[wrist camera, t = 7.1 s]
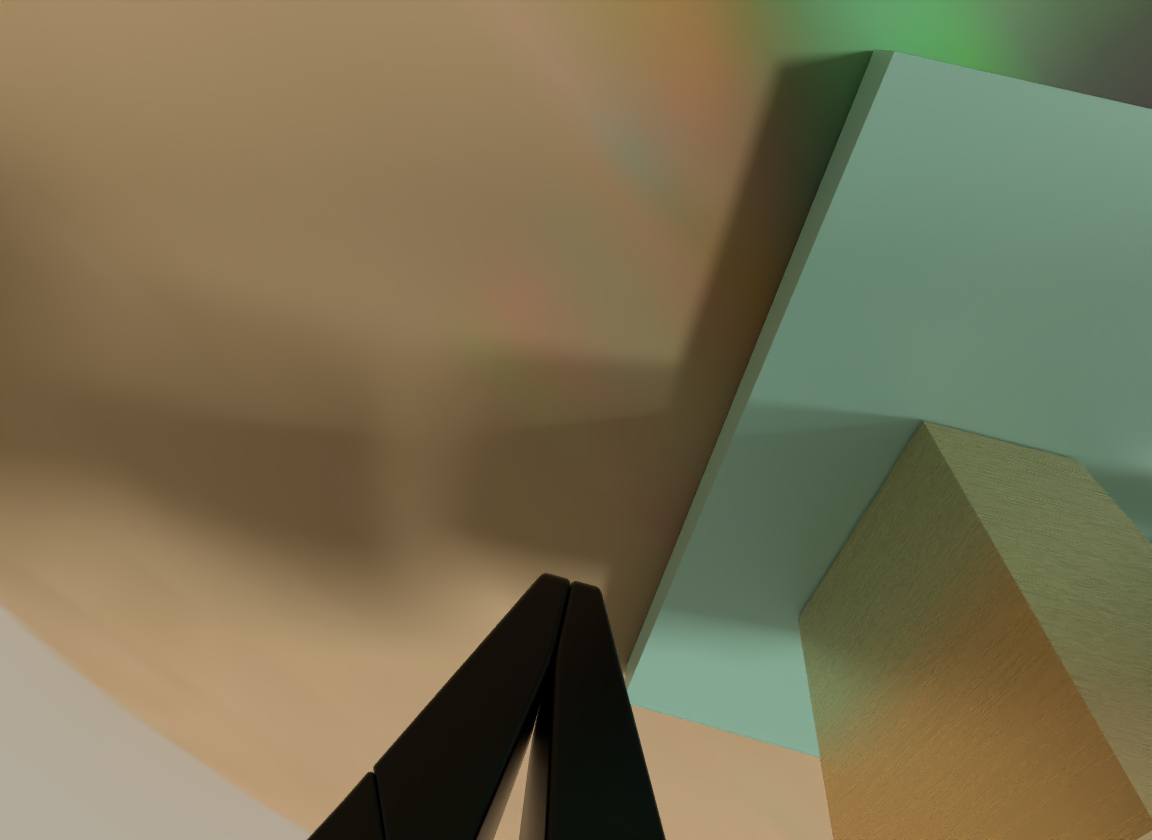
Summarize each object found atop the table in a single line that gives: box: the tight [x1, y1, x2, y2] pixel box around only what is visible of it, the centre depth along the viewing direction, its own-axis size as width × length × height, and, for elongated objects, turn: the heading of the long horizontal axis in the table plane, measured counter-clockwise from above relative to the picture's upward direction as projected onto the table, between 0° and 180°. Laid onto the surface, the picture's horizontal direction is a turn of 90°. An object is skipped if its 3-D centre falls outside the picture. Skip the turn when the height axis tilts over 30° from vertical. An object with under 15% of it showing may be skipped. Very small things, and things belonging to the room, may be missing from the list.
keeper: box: [798, 421, 1152, 840], centre depth 8 cm, size 5×5×6 cm
